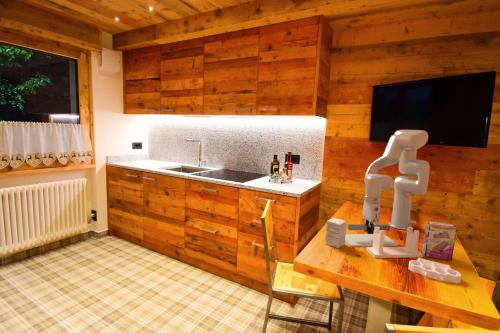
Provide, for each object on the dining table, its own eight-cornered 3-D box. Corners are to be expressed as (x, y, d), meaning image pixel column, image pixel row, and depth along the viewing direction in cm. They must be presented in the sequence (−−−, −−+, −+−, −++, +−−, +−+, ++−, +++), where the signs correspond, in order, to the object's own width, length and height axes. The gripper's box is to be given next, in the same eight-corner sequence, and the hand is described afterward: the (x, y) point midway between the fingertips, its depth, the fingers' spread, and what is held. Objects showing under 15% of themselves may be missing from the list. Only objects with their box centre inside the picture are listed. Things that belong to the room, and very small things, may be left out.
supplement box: (331, 240, 144) (333, 217, 143) (345, 244, 139) (347, 221, 137) (324, 243, 139) (326, 220, 137) (338, 248, 134) (340, 224, 132)
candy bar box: (424, 257, 128) (429, 224, 125) (421, 252, 132) (426, 220, 130) (452, 261, 124) (457, 227, 122) (448, 257, 129) (453, 224, 127)
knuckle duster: (457, 272, 115) (461, 289, 103) (409, 260, 125) (407, 274, 113) (458, 265, 115) (463, 281, 103) (410, 253, 124) (408, 267, 112)
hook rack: (411, 249, 136) (414, 225, 134) (423, 257, 128) (426, 232, 126) (365, 250, 133) (368, 225, 132) (374, 257, 126) (377, 232, 124)
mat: (383, 235, 153) (383, 234, 153) (399, 246, 139) (399, 244, 139) (339, 235, 151) (339, 234, 150) (350, 246, 137) (350, 245, 137)
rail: (387, 228, 146) (387, 224, 146) (389, 230, 144) (390, 226, 143) (348, 228, 144) (348, 224, 144) (350, 230, 142) (350, 226, 141)
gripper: (387, 203, 134) (383, 238, 137) (370, 195, 150) (367, 227, 152) (373, 203, 133) (369, 238, 136) (357, 195, 149) (354, 227, 152)
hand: (368, 232), depth 144 cm, fingers closed on rail, 2 cm apart
